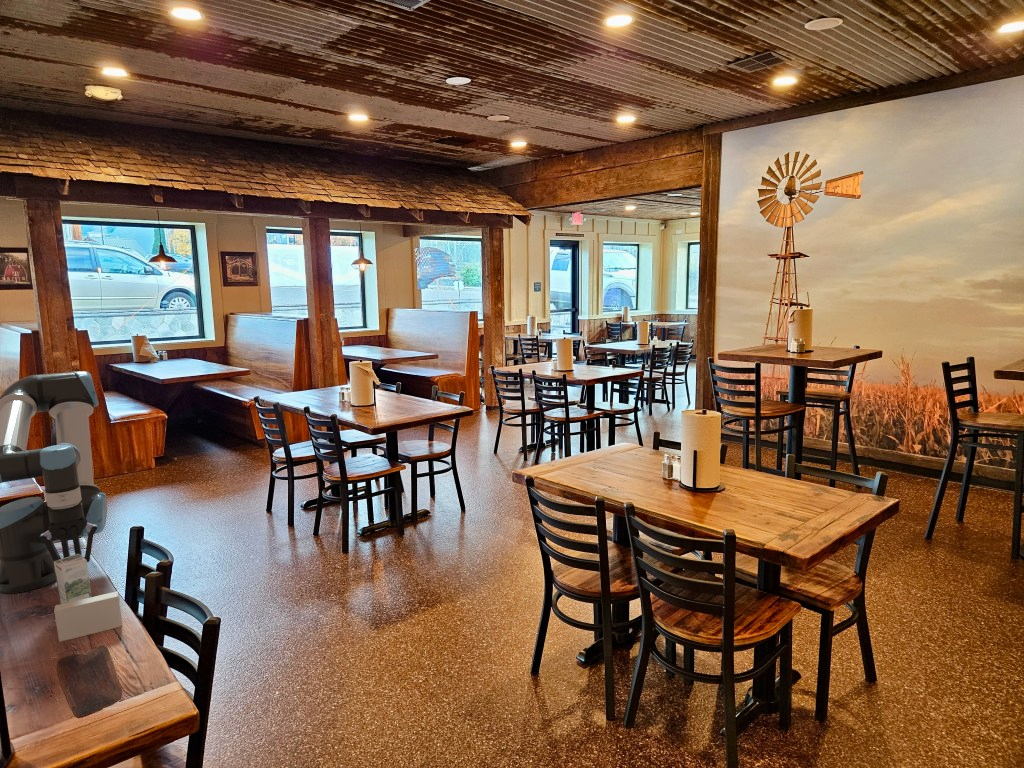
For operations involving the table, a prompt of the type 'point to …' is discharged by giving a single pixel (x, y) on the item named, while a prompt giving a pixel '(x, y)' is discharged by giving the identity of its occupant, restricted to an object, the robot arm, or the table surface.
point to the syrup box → (72, 578)
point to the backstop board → (88, 616)
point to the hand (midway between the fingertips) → (77, 588)
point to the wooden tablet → (89, 681)
